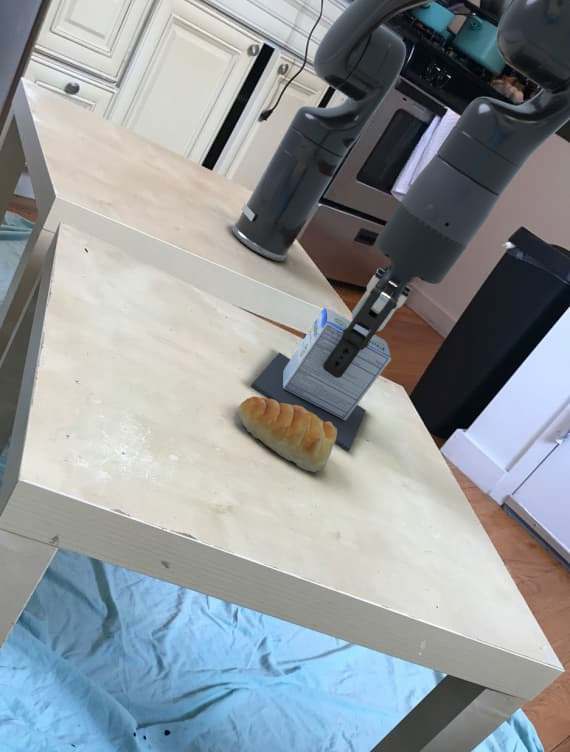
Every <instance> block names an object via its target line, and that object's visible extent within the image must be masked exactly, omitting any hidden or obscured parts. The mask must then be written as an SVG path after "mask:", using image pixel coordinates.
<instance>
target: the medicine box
mask: <svg viewBox="0 0 570 752" xmlns="http://www.w3.org/2000/svg"><path fill="white" fill-rule="evenodd" d="M351 322H352V320H349V319H348V318H346V317H345V316H343V315H341V314H339V313H337V312H335V311H333V310H331V309H329V308H328V307H325V308H323V309H322V310H321V312H320V314H319V315H318V317H317V318H316V319H315V321H314V322H313V324H312V326H311V327H310V329H309V330H308V332H307V333H306V334H305V337H304V338H303V340H302V341H301V342H300V344H299V345H298V347H297V349H296V350H295V352H294V353H293V355H292V356H291V358H290V361H289V363H288V364H287V366H286V367H285V369H284V371H283V389H285V390H287V391H289V392H291V393H293V394H295V395H296V396H298V397H300V398H302V399H304V400H306V401H308V402H310V403H312V404H314V405H316V406H318V407H320V408H322V409H324V410H326V411H327V412H329V413H331V414H333V415H335V416H337V417H339V418H341V419H343V420H346V419H347V418H348V417H349V415H350V414H351V413H352V411H353V410H354V408H355V407H356V406H357V405H359V403H360V402H361V400H362V399H363V398H364V396H365V395H366V394H367V392H368V391H369V390H370V389H371V387H372V386H373V385H374V383H375V382H376V381H377V379H378V378H379V377H380V375H381V374H382V372H383V371H384V370H385V368H387V366H388V365H389V363H390V362H392V356H391V352H390V348H389V345H388V343H387V340H386V339H383V338H382V337H380V336H378V335H377V334H376V333H375V334H374V335H373V337H372V338H371V340H370V341H369V342H368V343H369V345H368V346H367V347H365V348H364V349H363V350H360V351H359V353H358V354H357V355H356V357H355V358H354V360H353V361H352V362H351V364H350V365H349V367H348V368H347V369H346V371H345V372H344V374H343V375H342V376H341V377H340V378H336V377H334V376H333V375H331V374H330V373H328V372H327V371H325V370H324V368H323V364H324V363H325V361H326V360H327V358H328V357H329V355H330V354H331V353H332V351H333V350H334V348H335V347H336V345H337V344H338V342H339V341H340V340H341V338H342V337H341V336H342V335H343V333H342V332H343V331H344V329H345V328H348V326H349V325H350V323H351ZM354 329H356V330H357V331H359V332H360V333H362V334H363V335H365V336H366V335H367V333H368V332H369V331H368V330H366V329H364V328H362V327H361V326H359V325H357V324H356V325H355V326H354Z"/></svg>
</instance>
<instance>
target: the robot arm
mask: <svg viewBox="0 0 570 752" xmlns="http://www.w3.org/2000/svg"><path fill="white" fill-rule="evenodd" d="M436 1H437V0H353V1H352V2H351V3H350V4H349V5H348V6H347V8H346V9H344V11H343V12H342V13H341V14H340V15H339V16H338V17H337V18H336V20H335V21H334V22H333V23H332V25H331V26H330V27H329V28H328V30H327V31H326V33H325V34H324V35H323V38H322V39H321V41H320V43H319V44H318V46H317V49H316V51H315V54H314V57H313V71H314V73H315V74H316V76H317V77H318V78H319V79H320V80H321V81H322V82H324V83H325V84H327V85H328V86H329V87H331V88H332V89H334V90H336V91H337V92H339V93H341V94H343V96H345V97H347V98H346V99H345V100H344V102H342V103H341V104H340V105H337V106H333V107H315V106H309V105H304V106H301V107H299V108H298V110H297V111H296V113H295V114H294V116H293V117H292V118H293V119H292V120H291V122H290V124H289V125H288V127H287V129H286V131H285V133H284V135H283V136H282V138H281V140H280V142H279V143H278V146H277V147H276V150H275V151H274V153H273V156H272V157H271V159H270V161H269V162H268V165H267V166H266V168H265V170H264V172H263V173H262V175H261V177H260V179H259V181H258V182H257V185H256V187H255V188H254V190H253V192H252V194H251V196H250V198H249V200H248V201H247V203H244V204H243V206H242V207H241V214H240V215H239V218H238V219H237V222H235V223H234V224H233V227H232V233H233V234H234V236H235V237H236V238H237V239H238V240H239V241H240V242H241V243H242V244H244V245H245V246H246V247H248V248H249V249H250V250H252V251H254V252H255V253H257V254H260V255H261V256H263V257H265V258H267V259H270V260H273V261H276V262H283V261H285V259H286V257H287V256H288V253H289V251H290V249H291V247H292V246H293V244H294V242H295V241H296V239H297V238H298V236H299V234H300V233H301V231H302V230H303V228H304V226H305V224H306V222H307V221H308V219H309V218H310V216H311V214H312V213H313V211H314V210H315V208H316V206H317V204H318V202H319V201H320V199H321V197H322V196H323V194H324V193H325V191H326V189H327V187H328V186H329V184H330V182H331V181H332V180H333V177H334V175H335V173H336V172H337V170H338V169H339V167H340V165H341V164H342V162H343V160H344V159H345V157H346V156H347V154H348V152H349V150H350V149H351V148H352V146H353V145H354V144H355V143H356V142H357V141H358V139H359V138H360V136H361V135H362V133H363V132H364V130H365V128H366V126H367V125H368V123H369V122H370V120H371V119H372V117H374V116H373V115H374V114H375V113H376V111H377V110H378V108H379V107H380V105H381V104H382V102H383V101H384V99H385V98H386V96H387V95H388V93H389V92H390V90H391V89H392V88H393V85H394V84H395V82H396V81H397V79H398V77H399V75H400V73H401V71H402V69H403V67H404V64H405V60H406V57H407V47H406V46H407V45H406V44H405V42H404V41H403V40H402V39H401V38H400V37H398V36H397V35H395V34H394V33H392V32H391V31H390V30H388V29H386V28H385V27H384V26H382V25H383V24H385V23H386V22H387V21H388V20H390V19H391V18H394V17H395V16H396V15H398V14H400V13H403V12H404V11H407V10H411V9H413V8H417V7H421V6H423V5H426V4H430V3H433V2H436ZM496 29H497V30H496V46H497V50H498V53H499V56H500V58H501V60H502V61H504V63H505V64H507V65H508V66H509V67H511V69H514V70H515V71H517V72H518V73H519V74H521V75H522V76H524V77H526V78H527V80H530V81H531V82H532V83H534V84H535V85H537V86H538V87H540V88H541V89H540V91H539V92H538V93H537V94H535V95H534V96H533V97H532V98H530V99H529V100H527V101H526V102H524V103H521V104H517V105H515V104H511V103H508V102H505V101H502V100H499V99H497V98H493V97H490V96H479V97H476V98H475V99H474V100H472V101H471V102H470V103H469V104H468V106H467V107H466V108H465V109H464V111H463V112H462V114H461V115H460V117H458V120H457V121H456V122H455V125H454V126H453V127H452V129H451V131H450V132H449V134H448V135H447V136H446V138H445V139H444V141H443V142H442V144H441V145H440V147H439V149H438V150H437V151H436V153H435V154H434V155H433V157H432V158H431V160H430V161H429V162H428V163H427V164H426V166H425V167H424V168H423V169H422V170H421V172H420V173H419V174H418V176H417V177H416V178H415V180H414V181H413V183H412V184H411V185H410V187H409V188H408V190H407V191H406V193H405V194H404V196H403V198H402V199H401V201H400V202H399V203H398V205H397V206H396V208H395V210H394V211H393V213H392V214H391V216H390V217H389V219H388V220H387V222H386V223H385V224H384V226H383V227H382V230H381V231H380V232H379V234H378V235H377V237H376V239H375V244H376V246H377V248H378V250H379V251H380V252H381V253H382V254H383V255H384V256H385V257H387V258H388V259H390V262H391V264H389V265H388V266H386V267H385V268H384V269H382V268H381V267H378V268H377V270H376V271H375V273H374V275H373V276H372V277H371V278H370V280H369V282H368V283H367V285H366V290H365V292H364V294H363V295H362V297H361V298H360V299H359V301H358V302H357V304H356V305H355V307H354V309H352V312H351V314H352V317H351V319H352V320H351V321H352V322H351V323H350V325H349V326H348V328H345V329H344V331H343V332H342V333H343V335H342V336H341V337H342V338H341V340H340V341H339V342H338V344H337V345H336V347H335V348H334V350H333V351H332V353H331V354H330V355H329V357H328V358H327V360H326V361H325V363H324V364H323V368H324V370H325V371H327V372H328V373H330V374H331V375H333V376H334V377H336V378H340V377H341V376H342V375H343V374H344V372H345V371H346V369H347V368H348V367H349V365H350V364H351V362H352V361H353V360H354V358H355V357H356V355H357V354H358V353H359V351H360V350H363V349H364V348H365V347H367V346H368V345H369V343H368V342H369V341H370V340H371V338H372V337H373V335H374V334H375V335H376V333H377V332H381V331H382V330H383V329H384V328H385V327H386V325H387V324H388V322H389V321H390V320H391V318H392V316H393V315H395V312H396V311H397V310H398V309H400V308H402V307H403V305H404V304H405V303H406V301H407V300H408V298H409V297H410V294H411V292H412V290H413V289H412V288H411V287H409V286H408V284H409V283H410V281H411V280H412V279H413V278H419V279H420V280H421V281H423V282H425V283H428V284H432V285H436V284H440V283H442V281H444V279H445V277H446V276H447V275H448V273H449V272H450V270H451V269H452V268H453V266H454V265H455V264H456V263H457V261H458V260H459V258H460V257H461V256H462V255H463V253H464V252H465V250H466V249H467V248H468V246H469V245H470V244H471V242H472V241H473V239H474V238H475V237H476V235H477V234H478V233H479V231H480V230H481V229H482V227H483V226H484V224H485V223H486V222H487V220H488V218H489V217H490V215H491V213H492V211H493V210H494V208H495V206H496V204H497V203H498V201H499V200H500V198H501V196H503V194H504V193H505V191H506V190H507V188H509V186H510V185H511V183H512V182H513V180H514V179H515V178H516V177H517V175H518V174H519V173H520V171H521V170H522V168H523V167H524V166H525V164H526V163H527V161H528V160H529V159H530V158H531V156H532V155H533V154H534V153H535V152H536V151H537V150H538V149H539V148H540V147H541V146H542V145H543V144H544V143H545V142H547V140H549V139H550V138H551V137H552V136H553V135H554V134H555V133H556V132H557V131H559V129H561V128H562V127H563V126H564V125H565V124H566V123H568V121H569V120H570V0H511V1H510V2H509V3H508V5H507V6H506V8H505V10H504V12H503V14H502V15H501V17H500V20H499V22H498V25H497V28H496ZM356 324H357V325H359V326H361V327H362V328H364V329H366V330H368V331H369V332H368V333H367V335H366V336H365V335H363V334H362V333H360V332H359V331H357V330H356V329H354V326H355V325H356Z"/></svg>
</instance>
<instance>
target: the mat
mask: <svg viewBox="0 0 570 752" xmlns="http://www.w3.org/2000/svg"><path fill="white" fill-rule="evenodd" d="M290 360H291V358H289V357H288V356H286V355H284V354H283V353H281V352H278V354H277V355H276V356H275V357H274V358H273V359H272V360H271V361H270V363H269V364H268V365H267V366H266V367H265V368H264V369H263V370H262V371H261V373H260V374H259V375H258V376H257V377H256V378H255V379H254V381H252V382H251V385H250V387H252V388H253V389H255V390H256V391H257V392H259V393H260V394H262V395H264V396H265V397H266V398H267V399H274V400H276V401H277V402H279V403H285V404H290V405H298V406H302V407H303V408H305V409H306V410H307V411H309V412H312V413H313V414H315V415H316V416H317V417H318V418H319V419H321V420H322V421H324V422H331V423H332V424H333V426H334V427H335V428H336V429H337V436H336V441H335V443H334V444H336V445H337V446H339V447H340V448H342V449H343V450H344V451H346V452H350V451H351V449H352V446H353V444H354V442H355V439H356V437H357V434H358V432H359V429H360V427H361V424H362V422H363V419H364V417H365V415H366V412H367V410H366V409H365V408H363V407H362V406H360V405H359V404H357V406H356V407H355V408H354V410H353V411H352V413H351V414H350V415H349V417H348V418H347V419H346V420H343V419H341V418H339V417H337V416H335V415H333V414H331V413H329V412H327V411H326V410H324V409H322V408H320V407H318V406H316V405H314V404H312V403H310V402H308V401H306V400H304V399H302V398H300V397H298V396H296V395H295V394H293V393H291V392H289V391H287V390H285V389H283V371H284V369H285V367H286V366H287V364H288V363H289V361H290Z"/></svg>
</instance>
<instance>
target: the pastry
mask: <svg viewBox="0 0 570 752" xmlns="http://www.w3.org/2000/svg"><path fill="white" fill-rule="evenodd" d="M237 413H238V416H239V419H240V421H241V423H242V425H243V426H244V427H245V429H246V432H248V433H250V434H251V436H252V437H253V438H255V439H258V440H260V441H261V442H262V443H263V444H264V445H265V447H266V448H269V449H271V450H272V451H274V452H275V453H276V454H277V455H278V456H280V457H282V458H284V459H285V460H287V461H289V462H290V461H291V462H293V463H295V465H296V466H297V467H298V468H300V469H302V470H304V471H308V472H312V473H316V472H318V471H321V470H323V469H325V466H326V464H327V463H328V461H329V459H330V456H331V454H332V450H333V446H334V445H335V444H336V443H335V441H336V436H337V429H336V428H335V427H334V426H333V424H332V423H331V422H324V421H322V420H321V419H319V418H318V417H317V416H316V415H315V414H313V413H312V412H309V411H307V410H306V409H305V408H303V407H302V406H298V405H290V404H285V403H279V402H277V401H276V400H274V399H269V398H264V397H259V396H251V397H248V398H246V399H245V400H243V401H242V403H240V405H239V406H238V408H237Z"/></svg>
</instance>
